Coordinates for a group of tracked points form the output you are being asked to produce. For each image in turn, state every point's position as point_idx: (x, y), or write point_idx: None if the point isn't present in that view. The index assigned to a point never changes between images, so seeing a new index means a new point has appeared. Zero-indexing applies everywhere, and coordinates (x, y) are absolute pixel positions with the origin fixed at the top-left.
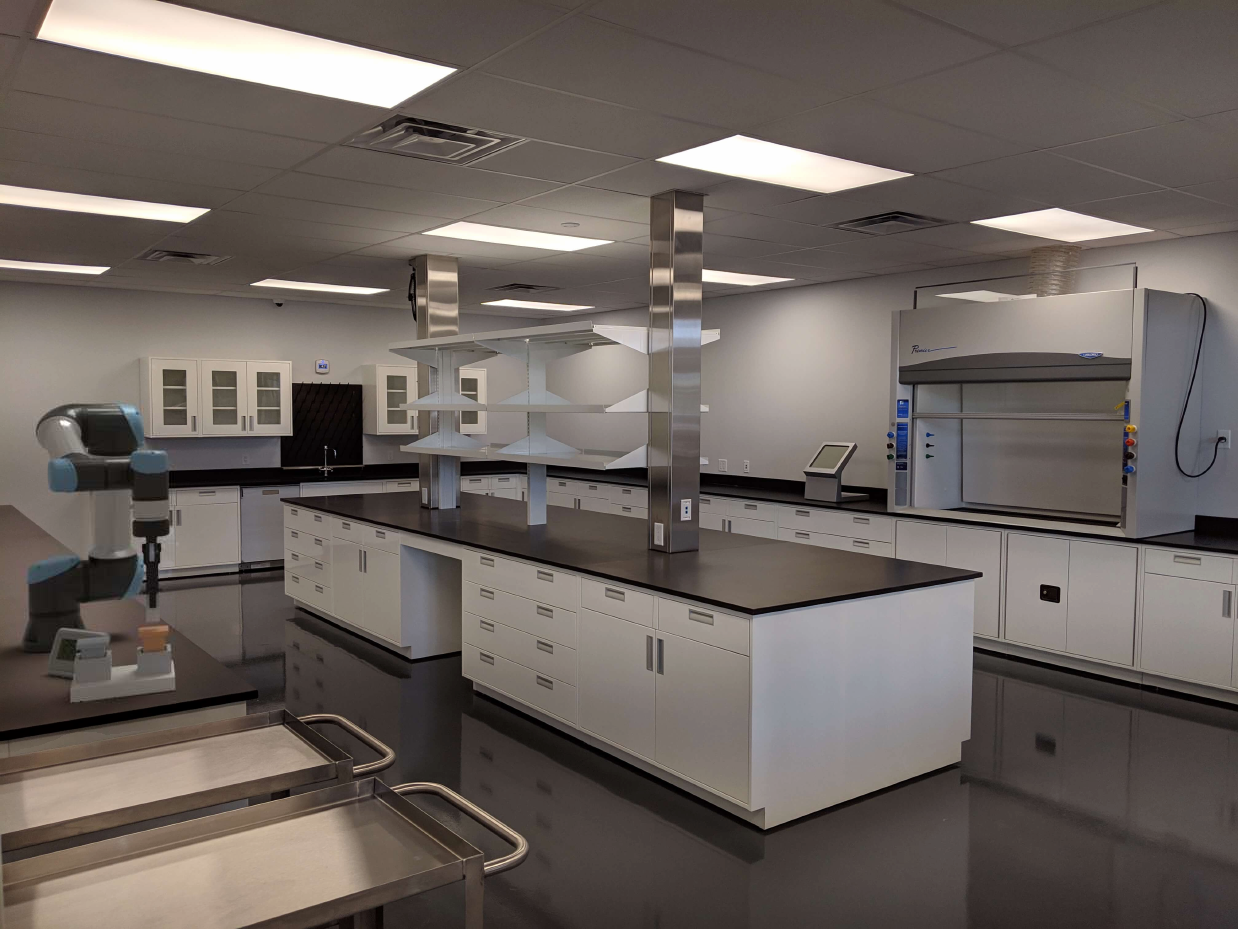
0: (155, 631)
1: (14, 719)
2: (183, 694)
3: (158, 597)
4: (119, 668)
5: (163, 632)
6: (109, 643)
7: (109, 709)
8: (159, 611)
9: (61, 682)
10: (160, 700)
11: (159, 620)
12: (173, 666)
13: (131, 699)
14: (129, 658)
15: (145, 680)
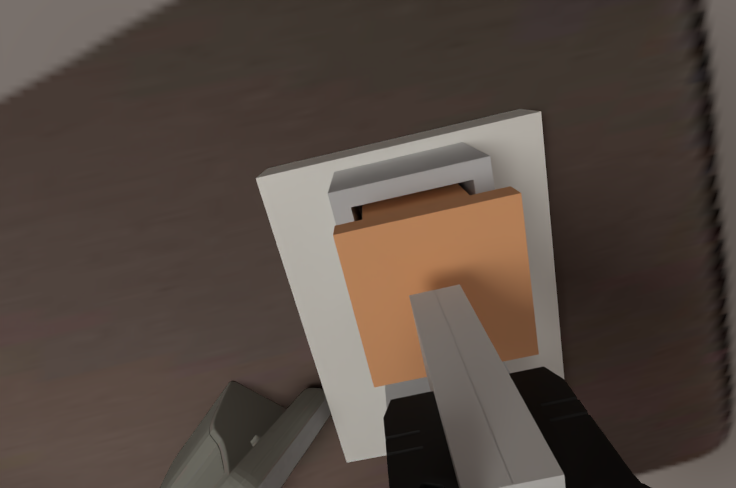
0: (515, 272)
1: (644, 467)
2: (592, 63)
3: (537, 433)
4: (341, 348)
5: (523, 221)
6: (251, 453)
7: (666, 274)
8: (480, 326)
9: (314, 467)
10: (636, 135)
11: (460, 289)
12: (361, 155)
13: (580, 236)
14: (37, 365)
15: (549, 219)
